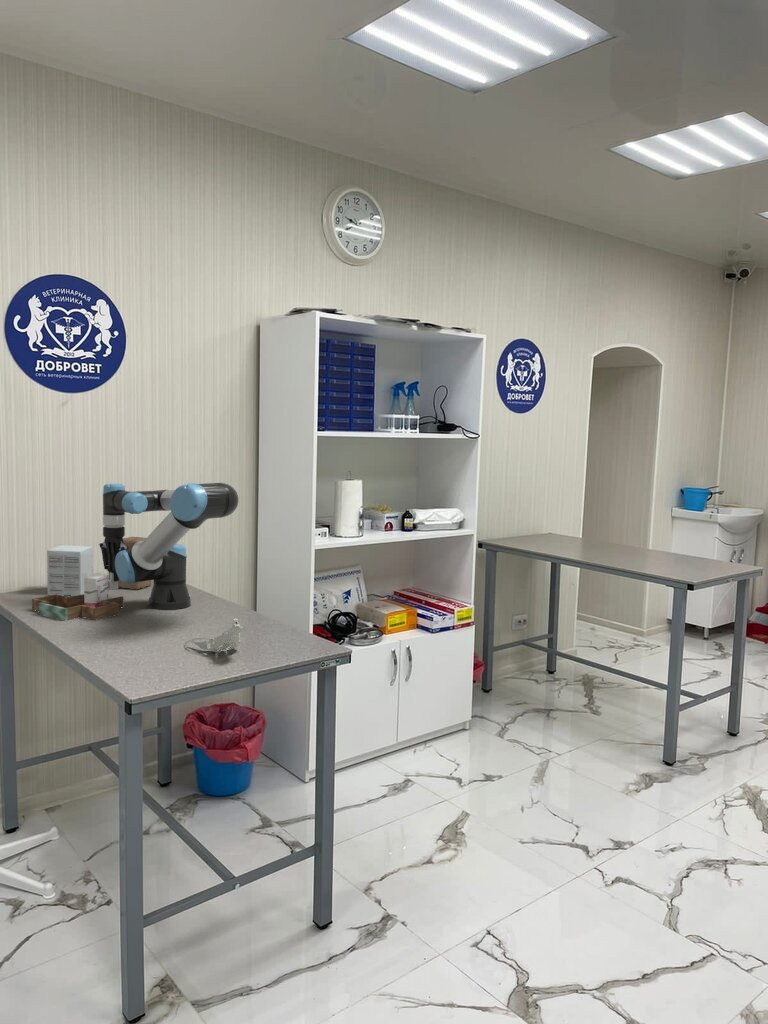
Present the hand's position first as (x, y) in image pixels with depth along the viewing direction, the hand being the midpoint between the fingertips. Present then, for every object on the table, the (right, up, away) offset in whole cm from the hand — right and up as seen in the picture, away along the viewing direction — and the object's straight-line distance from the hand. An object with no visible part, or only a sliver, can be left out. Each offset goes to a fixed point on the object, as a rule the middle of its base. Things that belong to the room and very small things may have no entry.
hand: (113, 589), depth 289 cm
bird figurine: (+51, -14, -55) cm, 76 cm away
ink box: (-4, -6, -6) cm, 10 cm away
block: (-2, -2, +30) cm, 30 cm away
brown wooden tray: (-7, -6, -12) cm, 15 cm away
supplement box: (-23, -3, +17) cm, 28 cm away
